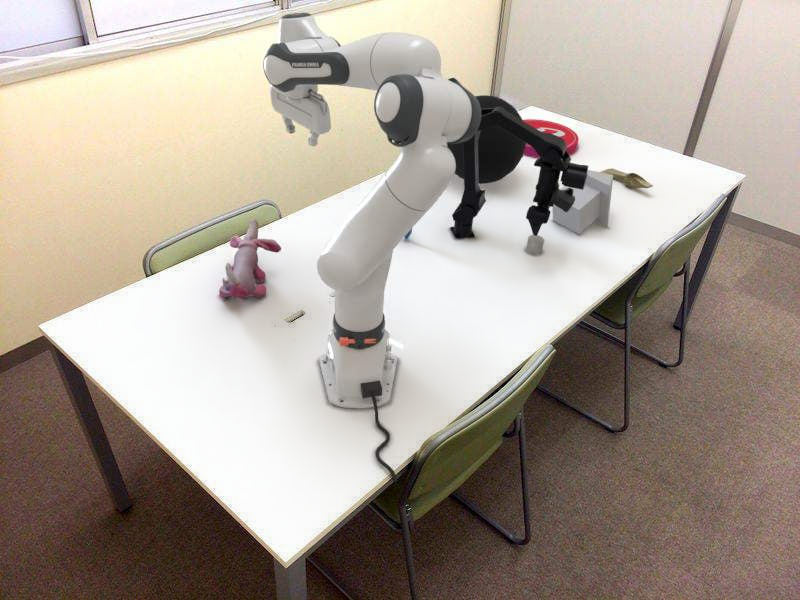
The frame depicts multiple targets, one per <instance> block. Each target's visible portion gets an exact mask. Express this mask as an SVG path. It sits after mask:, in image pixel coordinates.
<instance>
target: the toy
mask: <svg viewBox="0 0 800 600" xmlns="http://www.w3.org/2000/svg"><path fill="white" fill-rule="evenodd" d="M229 241H230V242H229V247H231V248H233V249H237V251H236V252H235V255H234V256H233V257H234V258H233V265H231V264H230V263H229V262H227V263H226V264H225V266H224V267H225V274H226V276H227V280H226V279H225V278H224V277H222V285H221V286H220V287H219V290H218V291H219V293H218V295H219V297H221V298H223V299H225V300H227V299H228V298H231V297H232V298H235V299H240V300H243V301H244V300H246V299H248V298H249V297H253V298H256V297H257V298H262V297H264V296H265V295H266V293H267V287H266V285H265V284H263V283H264V281H265V280H266V273H265V271H264V270H263V269H261V267H260V266H259V256H258V250H259V249H258V248H261V249H263V250H265V251H268V252H271V253H280V252H281V251H282V247H281V245H280V244H279V243H278V242H277V240H275V239H272V238H259V221H258V220H257V219H256V218H252V219H251V220H250V221H249V224H248V228H247V230H246V233H245V234H244V237H243V239H242V238H241V237H240V236H239V235H233V236H232V237H230V240H229ZM255 281H256V282H258V283H259V284H257V285H256V282H255Z"/></svg>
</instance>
